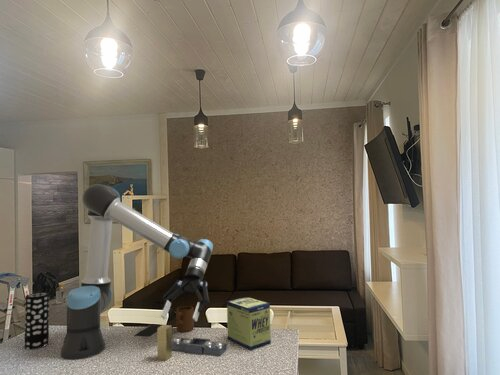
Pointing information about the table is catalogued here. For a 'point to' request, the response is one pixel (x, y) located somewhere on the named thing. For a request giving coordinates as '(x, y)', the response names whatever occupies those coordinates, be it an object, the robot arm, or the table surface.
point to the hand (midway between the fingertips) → (178, 318)
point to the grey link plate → (199, 346)
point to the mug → (185, 319)
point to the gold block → (164, 342)
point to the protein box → (248, 322)
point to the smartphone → (148, 331)
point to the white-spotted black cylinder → (36, 320)
